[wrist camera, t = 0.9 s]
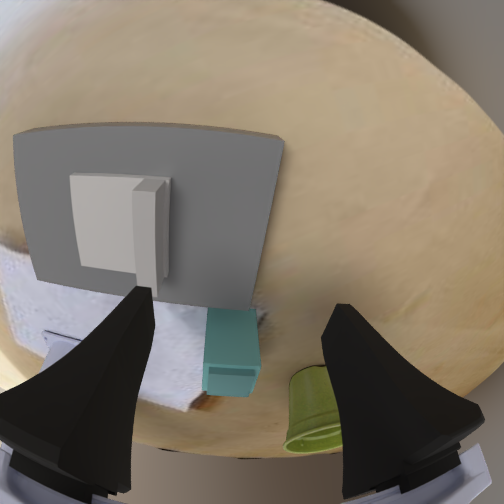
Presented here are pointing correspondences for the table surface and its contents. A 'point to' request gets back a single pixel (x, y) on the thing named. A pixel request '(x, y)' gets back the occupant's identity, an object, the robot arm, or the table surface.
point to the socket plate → (181, 203)
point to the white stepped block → (123, 224)
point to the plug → (231, 352)
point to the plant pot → (312, 413)
